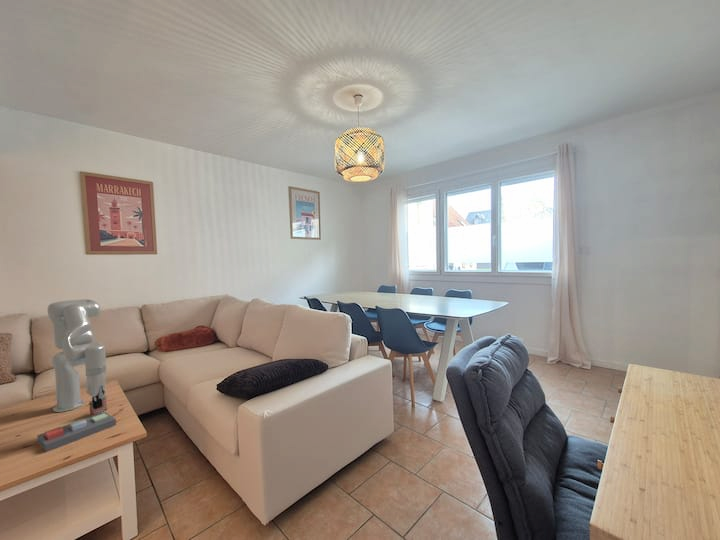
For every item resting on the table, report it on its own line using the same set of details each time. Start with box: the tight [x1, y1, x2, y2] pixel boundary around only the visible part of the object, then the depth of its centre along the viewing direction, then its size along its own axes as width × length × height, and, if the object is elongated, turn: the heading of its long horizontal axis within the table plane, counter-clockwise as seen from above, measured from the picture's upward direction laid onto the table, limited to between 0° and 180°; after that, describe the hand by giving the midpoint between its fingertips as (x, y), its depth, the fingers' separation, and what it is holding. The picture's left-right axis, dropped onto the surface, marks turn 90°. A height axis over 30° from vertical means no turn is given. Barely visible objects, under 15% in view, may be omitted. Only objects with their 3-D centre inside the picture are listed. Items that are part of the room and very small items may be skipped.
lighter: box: [88, 392, 108, 417], centre depth 157 cm, size 8×3×10 cm, turn 168°
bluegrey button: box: [69, 418, 87, 431], centre depth 138 cm, size 5×5×3 cm
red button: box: [44, 426, 64, 440], centre depth 131 cm, size 5×5×3 cm
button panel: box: [36, 411, 117, 453], centre depth 138 cm, size 14×24×3 cm, turn 148°
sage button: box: [92, 413, 108, 423], centre depth 145 cm, size 5×5×3 cm
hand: (97, 407), depth 144 cm, fingers closed
